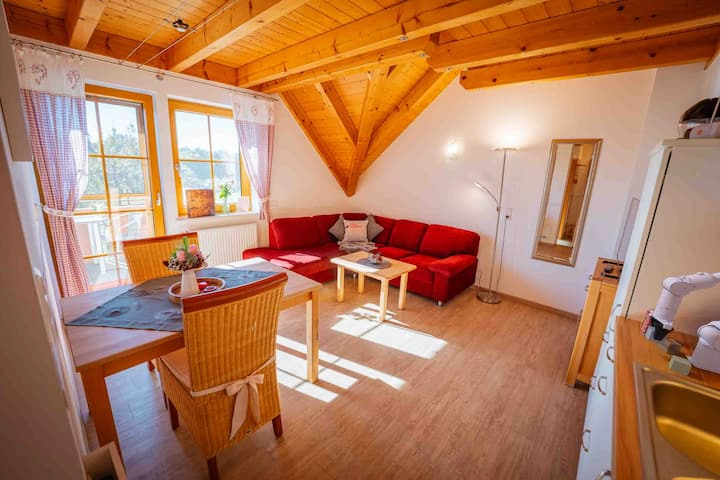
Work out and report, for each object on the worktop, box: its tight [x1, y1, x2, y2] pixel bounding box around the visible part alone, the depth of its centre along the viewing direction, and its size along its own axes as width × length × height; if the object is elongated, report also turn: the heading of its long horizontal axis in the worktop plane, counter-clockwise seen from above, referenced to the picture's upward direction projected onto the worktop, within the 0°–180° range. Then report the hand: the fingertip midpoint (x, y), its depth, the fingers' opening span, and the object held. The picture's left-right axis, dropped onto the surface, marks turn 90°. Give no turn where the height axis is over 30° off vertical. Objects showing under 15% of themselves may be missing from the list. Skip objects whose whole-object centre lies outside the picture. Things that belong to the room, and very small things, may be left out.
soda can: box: [639, 308, 656, 336], centre depth 132 cm, size 5×5×12 cm
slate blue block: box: [645, 326, 668, 345], centre depth 117 cm, size 4×4×4 cm
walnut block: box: [656, 337, 683, 356], centre depth 122 cm, size 4×4×4 cm
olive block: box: [668, 354, 692, 377], centre depth 110 cm, size 4×4×4 cm
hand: (655, 336), depth 117 cm, fingers closed on slate blue block, 4 cm apart
